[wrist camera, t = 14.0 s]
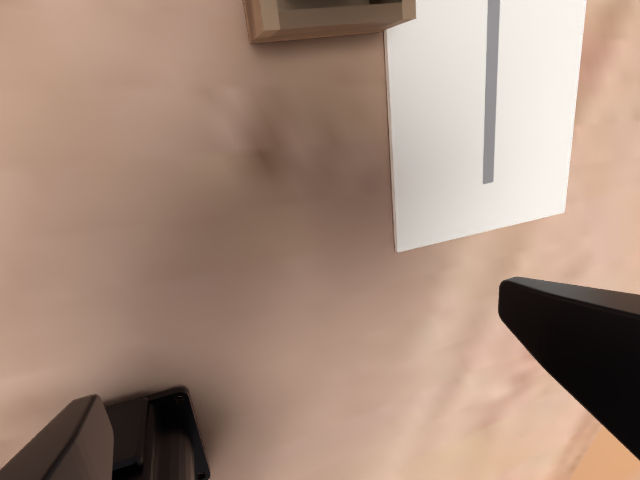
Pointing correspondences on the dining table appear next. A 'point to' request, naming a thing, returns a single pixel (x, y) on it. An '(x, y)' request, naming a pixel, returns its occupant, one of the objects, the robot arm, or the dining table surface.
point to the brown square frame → (322, 18)
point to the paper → (480, 114)
